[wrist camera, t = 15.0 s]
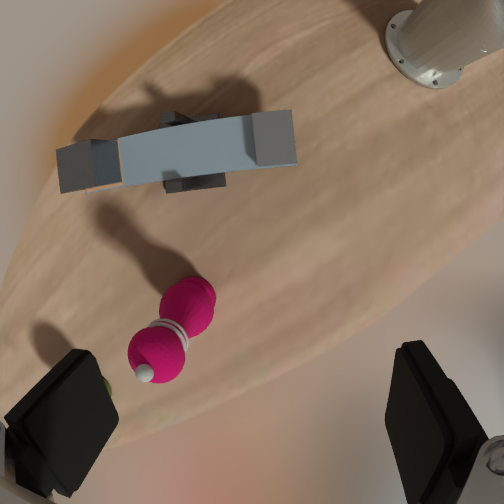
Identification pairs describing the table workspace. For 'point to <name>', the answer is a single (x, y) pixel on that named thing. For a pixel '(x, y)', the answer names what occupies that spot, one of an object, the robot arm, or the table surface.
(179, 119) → the stand
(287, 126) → the beam
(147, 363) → the pepper mill
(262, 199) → the table surface
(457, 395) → the robot arm
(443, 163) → the table surface
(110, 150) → the iron block
